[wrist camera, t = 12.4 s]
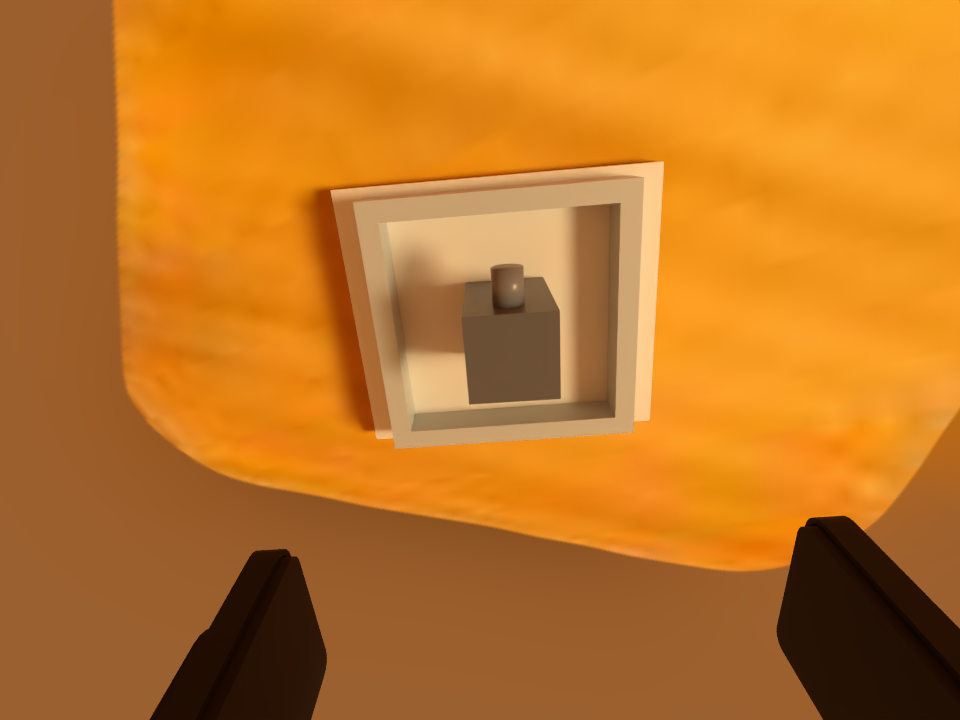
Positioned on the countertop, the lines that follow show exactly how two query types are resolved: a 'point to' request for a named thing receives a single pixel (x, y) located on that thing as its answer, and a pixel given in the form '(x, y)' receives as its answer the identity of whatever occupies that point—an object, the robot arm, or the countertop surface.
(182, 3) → the countertop surface
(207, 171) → the countertop surface
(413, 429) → the tray
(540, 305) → the connector plug
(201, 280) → the countertop surface
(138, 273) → the countertop surface
